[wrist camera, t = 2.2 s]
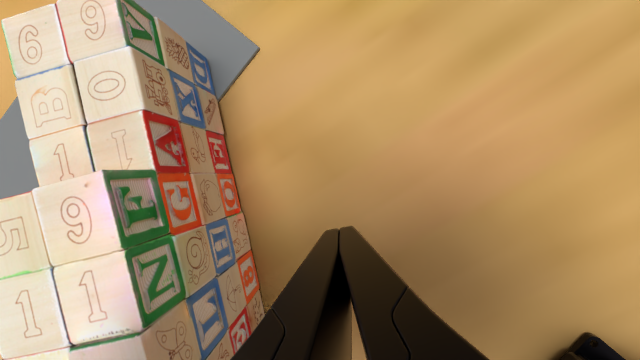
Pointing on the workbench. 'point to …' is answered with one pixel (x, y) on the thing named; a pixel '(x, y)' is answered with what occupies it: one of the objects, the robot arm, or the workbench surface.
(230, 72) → the mat
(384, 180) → the workbench surface
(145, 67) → the stack of blocks
